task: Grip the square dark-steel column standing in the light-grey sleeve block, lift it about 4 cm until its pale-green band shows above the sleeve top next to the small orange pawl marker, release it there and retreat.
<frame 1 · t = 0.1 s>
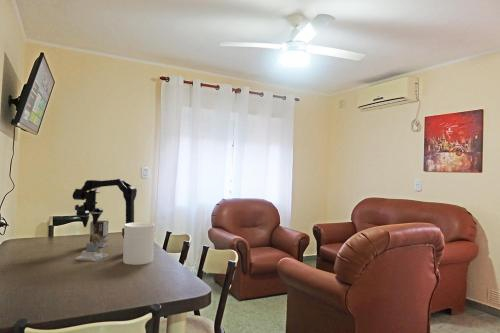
hand: (89, 225, 206), 15 cm above the table, fingers open, 9 cm apart
coffee box: (98, 246, 216), on the table
column: (92, 249, 188), point 5 cm above the table, slide at 0.0 cm
sleeve block: (91, 257, 188), on the table
canister: (138, 260, 186), on the table
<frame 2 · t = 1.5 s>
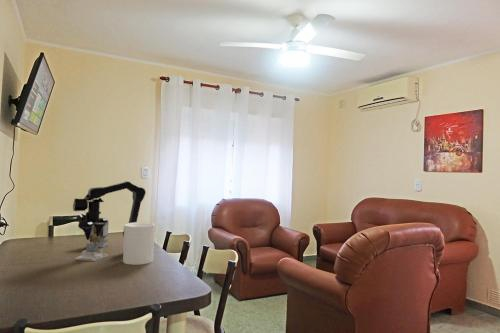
hand: (92, 238, 189), 11 cm above the table, fingers open, 9 cm apart
nothing on the table moved.
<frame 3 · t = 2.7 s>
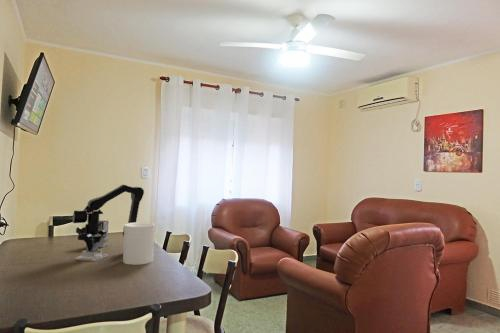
hand: (92, 249, 188), 4 cm above the table, fingers closed on column, 4 cm apart
column: (92, 249, 188), point 5 cm above the table, slide at 0.0 cm, touching gripper
everything else where it was.
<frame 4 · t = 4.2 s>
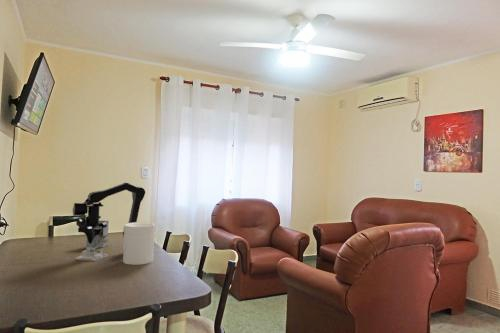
hand: (92, 242, 188), 8 cm above the table, fingers closed on column, 4 cm apart
column: (92, 241, 188), point 9 cm above the table, slide at 4.2 cm, touching gripper
everything else where it was.
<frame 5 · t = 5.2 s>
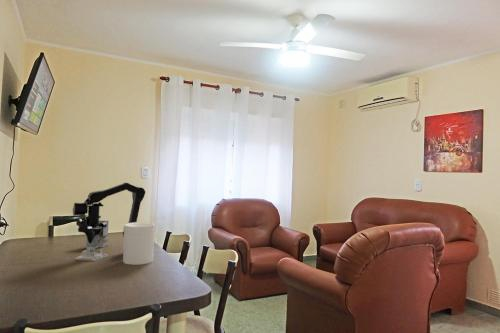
hand: (92, 242, 188), 9 cm above the table, fingers closed on column, 4 cm apart
column: (92, 241, 188), point 9 cm above the table, slide at 4.2 cm, touching gripper
everything else where it was.
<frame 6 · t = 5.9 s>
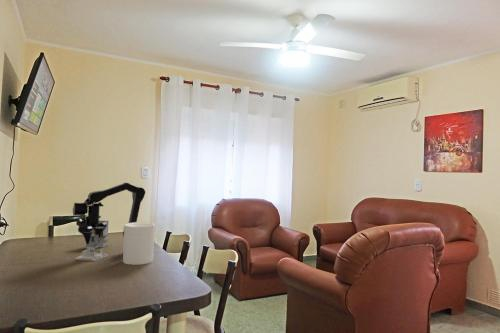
hand: (92, 242, 188), 9 cm above the table, fingers open, 9 cm apart
column: (92, 241, 188), point 9 cm above the table, slide at 4.2 cm
everything else where it was.
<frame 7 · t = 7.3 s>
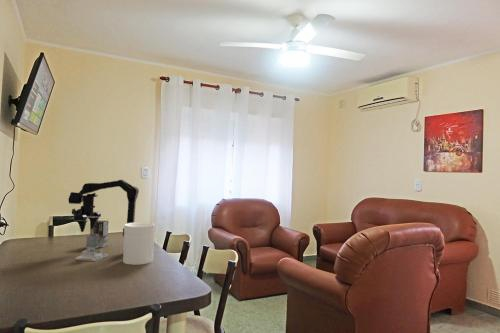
hand: (87, 230, 199), 13 cm above the table, fingers open, 9 cm apart
nothing on the table moved.
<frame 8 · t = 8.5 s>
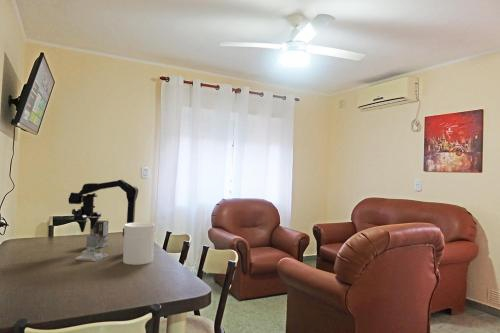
hand: (87, 230, 200), 13 cm above the table, fingers open, 9 cm apart
nothing on the table moved.
at the end: column slide at 4.2 cm; the gripper is holding nothing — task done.
